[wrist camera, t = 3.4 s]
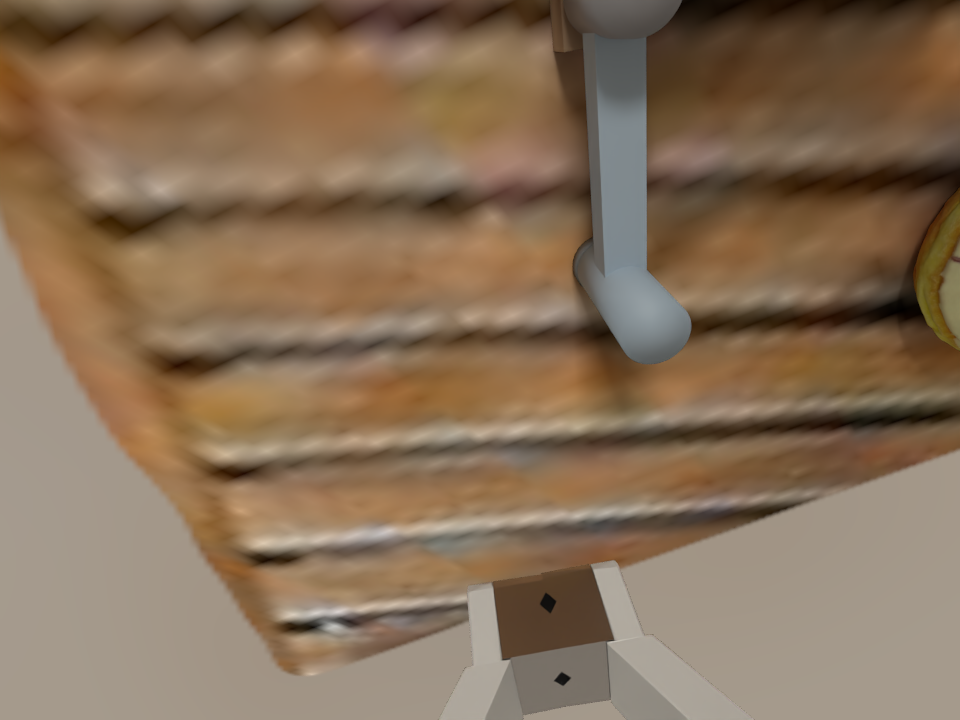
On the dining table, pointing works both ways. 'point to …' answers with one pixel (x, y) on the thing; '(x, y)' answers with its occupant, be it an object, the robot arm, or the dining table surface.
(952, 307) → the decorated donut
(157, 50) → the dining table surface
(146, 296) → the dining table surface
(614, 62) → the lever handle with knob
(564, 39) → the tan boxy piece
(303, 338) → the dining table surface
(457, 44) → the dining table surface
